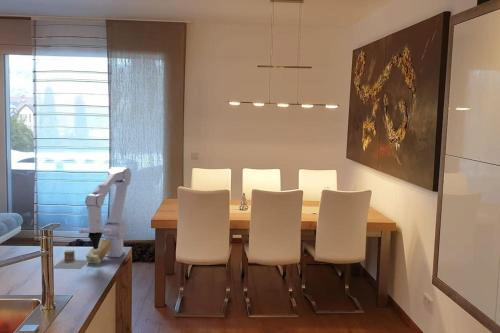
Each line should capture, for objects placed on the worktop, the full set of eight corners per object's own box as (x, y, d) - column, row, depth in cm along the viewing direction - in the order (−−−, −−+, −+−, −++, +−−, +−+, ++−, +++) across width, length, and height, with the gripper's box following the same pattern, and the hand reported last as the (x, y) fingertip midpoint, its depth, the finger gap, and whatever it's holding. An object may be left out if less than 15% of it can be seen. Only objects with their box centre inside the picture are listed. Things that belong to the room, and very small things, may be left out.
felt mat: (62, 260, 229) (62, 259, 229) (89, 260, 229) (89, 260, 228) (51, 268, 217) (51, 267, 217) (80, 269, 217) (80, 268, 217)
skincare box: (85, 256, 223) (98, 238, 233) (87, 262, 225) (101, 245, 235) (97, 257, 221) (110, 240, 231) (99, 264, 223) (112, 247, 233)
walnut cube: (65, 258, 231) (65, 250, 231) (74, 258, 232) (74, 250, 232) (64, 260, 227) (64, 252, 227) (73, 260, 228) (73, 251, 228)
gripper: (76, 221, 216) (77, 250, 218) (108, 222, 216) (108, 251, 217) (81, 218, 223) (82, 246, 225) (112, 218, 223) (113, 246, 224)
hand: (95, 248), depth 222 cm, fingers closed
